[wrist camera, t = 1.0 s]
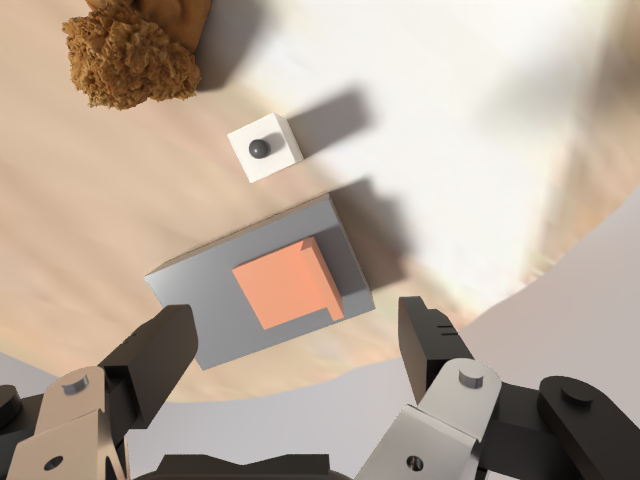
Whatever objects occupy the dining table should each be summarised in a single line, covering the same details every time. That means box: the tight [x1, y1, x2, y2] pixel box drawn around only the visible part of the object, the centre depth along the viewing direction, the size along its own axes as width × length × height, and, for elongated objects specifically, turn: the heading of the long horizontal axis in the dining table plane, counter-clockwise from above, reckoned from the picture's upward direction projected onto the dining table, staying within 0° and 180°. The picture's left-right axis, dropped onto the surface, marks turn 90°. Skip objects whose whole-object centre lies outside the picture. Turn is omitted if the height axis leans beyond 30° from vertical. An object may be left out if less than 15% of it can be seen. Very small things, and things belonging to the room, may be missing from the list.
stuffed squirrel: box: [62, 0, 212, 111], centre depth 22 cm, size 10×14×13 cm
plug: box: [227, 112, 304, 183], centre depth 27 cm, size 4×4×8 cm
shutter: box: [232, 236, 344, 330], centre depth 28 cm, size 8×7×4 cm
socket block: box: [144, 192, 375, 371], centre depth 33 cm, size 20×12×4 cm, turn 114°
